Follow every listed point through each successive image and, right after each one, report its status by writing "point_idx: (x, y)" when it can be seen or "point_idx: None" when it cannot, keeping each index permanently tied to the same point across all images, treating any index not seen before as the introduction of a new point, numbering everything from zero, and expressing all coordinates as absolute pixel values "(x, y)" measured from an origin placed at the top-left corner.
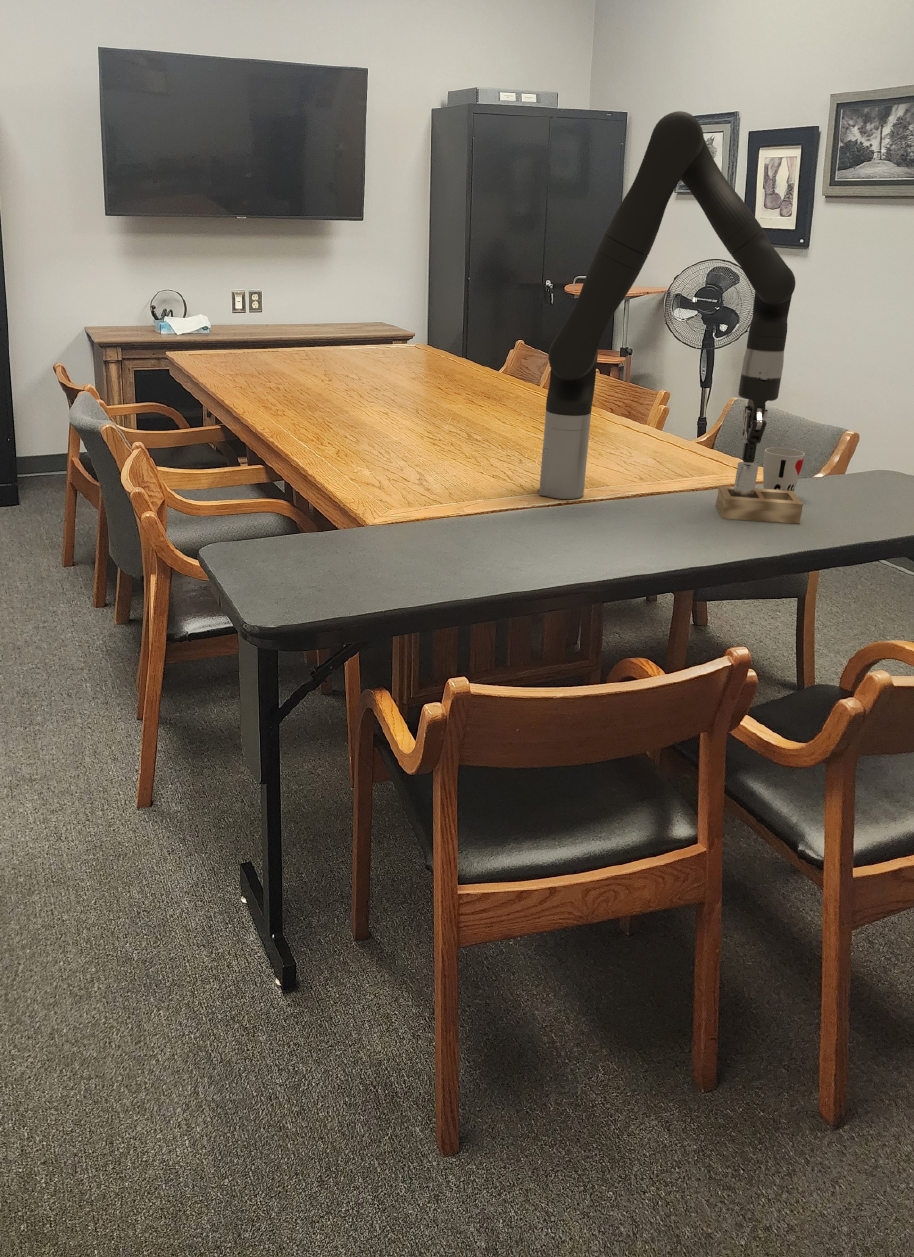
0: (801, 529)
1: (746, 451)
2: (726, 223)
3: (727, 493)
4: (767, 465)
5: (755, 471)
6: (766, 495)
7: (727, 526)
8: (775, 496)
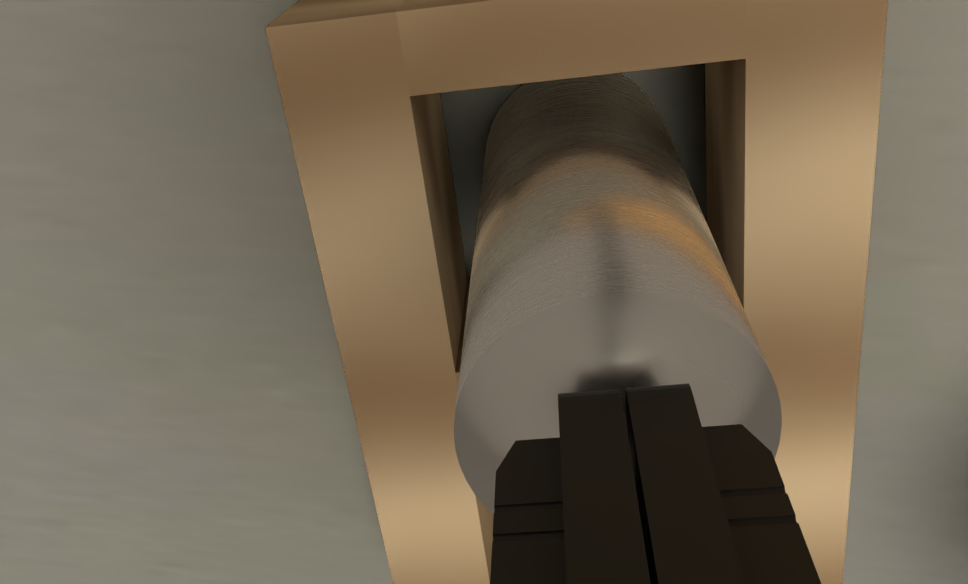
0: (294, 539)
1: (546, 544)
2: None
3: (527, 57)
4: None
5: None
6: None
7: (73, 30)
8: None
